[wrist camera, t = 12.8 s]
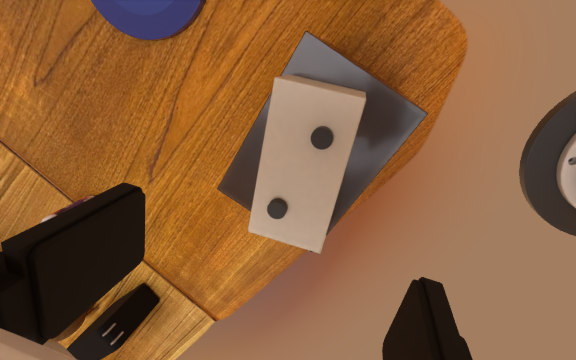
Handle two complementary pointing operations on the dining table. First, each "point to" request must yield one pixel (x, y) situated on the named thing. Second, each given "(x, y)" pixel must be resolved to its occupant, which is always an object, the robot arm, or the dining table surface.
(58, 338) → the fruit
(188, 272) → the dining table surface
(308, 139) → the controller
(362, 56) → the dining table surface
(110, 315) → the electronic device
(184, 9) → the plate
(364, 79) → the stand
